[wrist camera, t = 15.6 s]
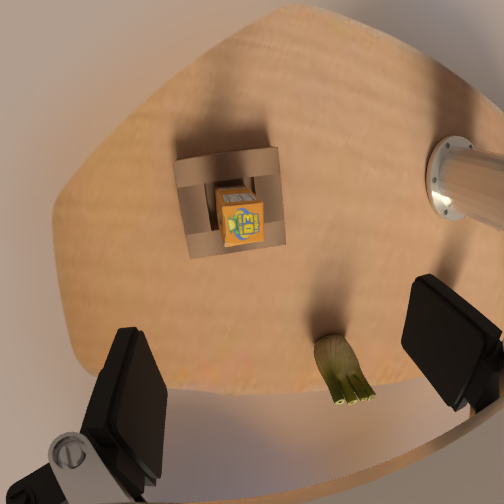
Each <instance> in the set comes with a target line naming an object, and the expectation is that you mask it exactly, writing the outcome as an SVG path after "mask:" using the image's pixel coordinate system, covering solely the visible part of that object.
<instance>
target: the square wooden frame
mask: <svg viewBox="0 0 504 504" xmlns="http://www.w3.org/2000/svg"><path fill="white" fill-rule="evenodd" d="M173 166H174V172H175V178H176V185H177V191H178V197H179V202H180V208H181V214H182V219H183V225H184V230H185V235H186V240H187V245H188V250H189V255H190V259H194V258H201V257H207V256H214V255H220V254H227V253H233V252H240V251H246V250H253V249H259V248H266V247H272V246H279V245H286V235H285V222H284V210H283V198H282V186H281V175H280V164H279V154H278V147H271V146H270V147H260V148H251V149H242V150H234V151H227V152H219V153H212V154H206V155H199V156H193V157H187V158H181V159H177V160H175V161H173ZM227 185H245V186H246V187H247V188H248V189H249V190H251V191H252V192H253V193H254V194H255V195H256V196H257V197H258V198H259V199H260V200H261V201H262V202H263V210H264V241H261V242H252V243H246V244H241V245H236V246H230V247H225V246H224V244H223V241H222V237H221V233H220V229H219V224H218V219H217V212H216V199H215V187H216V186H227Z"/></svg>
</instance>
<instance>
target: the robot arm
mask: <svg viewBox="0 0 504 504" xmlns="http://www.w3.org/2000/svg"><path fill="white" fill-rule="evenodd" d="M426 184H427V192H428V197H429V200H430V202H431V205H432V207H433V208H434V210H435V211H436V212H437V213H438V214H439V215H440V216H441V217H443V218H445V219H448V220H452V221H456V220H460V219H462V218H464V217H465V216H467V217H469V218H472V219H474V220H476V221H478V222H480V223H483V224H485V225H487V226H489V227H491V228H493V229H495V230H497V231H499V232H501V233H503V234H504V155H502V154H497V153H492V152H487V151H482V150H477V149H476V148H475V147H474V145H473V144H472V143H471V142H470V141H469V140H468V139H466V138H464V137H461V136H455V135H452V136H447V137H446V138H444V139H442V140H441V141H440V142H439V143H438V144H437V145H436V147H435V148H434V150H433V152H432V154H431V156H430V159H429V163H428V168H427V177H426ZM501 334H502V331H501V330H500V329H499V328H498V327H497V326H496V325H494V324H493V323H492V322H491V321H490V320H489V319H487V318H486V317H485V316H484V315H483V314H482V313H480V312H479V311H478V310H477V309H476V308H474V307H473V306H472V305H471V304H469V303H468V302H467V301H466V300H464V299H463V298H462V297H461V296H459V295H458V294H457V293H456V292H454V291H453V290H452V289H451V288H449V287H448V286H447V285H445V284H444V283H443V282H441V281H440V280H439V279H437V278H436V277H435V276H434V275H432V274H426V275H422V276H418V277H417V278H416V279H415V281H414V282H413V284H412V287H411V293H410V299H409V305H408V310H407V315H406V320H405V325H404V329H403V334H402V338H401V344H402V347H403V349H404V350H405V351H406V352H407V354H408V355H409V356H410V357H411V359H412V360H413V361H414V362H415V364H416V365H417V366H418V368H419V369H420V370H421V371H422V373H423V374H424V375H425V377H426V378H427V379H428V380H429V382H430V383H431V384H432V386H433V387H434V388H435V390H436V391H437V392H438V394H439V395H440V396H441V398H442V399H443V400H444V402H445V403H446V404H447V405H448V406H451V407H452V408H453V410H454V411H455V412H457V411H458V410H460V409H462V408H463V407H465V406H466V405H467V403H469V404H470V405H471V406H470V417H469V419H468V420H466V421H465V422H463V423H461V424H460V425H458V426H456V427H455V428H453V429H451V430H450V431H448V432H446V433H444V434H443V435H441V436H439V437H437V438H435V439H433V440H431V441H429V442H427V443H425V444H424V445H422V446H420V447H417V448H415V449H414V450H411V451H409V452H407V453H405V454H403V455H400V456H398V457H396V458H393V459H391V460H389V461H386V462H384V463H381V464H379V465H376V466H373V467H371V468H368V469H365V470H363V471H360V472H357V473H354V474H351V475H348V476H345V477H341V478H338V479H335V480H332V481H328V482H325V483H321V484H317V485H313V486H309V487H305V488H301V489H297V490H292V491H287V492H282V493H277V494H271V495H265V496H258V497H251V498H245V499H244V498H243V499H235V500H223V501H212V502H193V503H150V502H149V501H148V500H147V499H146V498H145V497H144V495H143V493H144V486H156V478H158V479H159V478H161V473H162V456H163V442H164V429H165V417H166V406H167V396H168V394H167V388H166V385H165V383H164V381H163V378H162V376H161V374H160V372H159V369H158V367H157V365H156V362H155V360H154V357H153V355H152V352H151V350H150V348H149V345H148V342H147V340H146V337H145V335H144V333H143V331H138V329H137V328H136V327H127V328H119V329H118V331H117V333H116V336H115V338H114V341H113V343H112V346H111V349H110V351H109V354H108V356H107V359H106V362H105V364H104V367H103V369H102V370H101V371H100V373H99V375H98V378H97V381H96V384H95V387H94V390H93V392H92V395H91V398H90V401H89V404H88V407H87V410H86V414H85V417H84V420H83V423H82V427H81V430H80V433H77V432H67V433H64V434H61V435H60V436H58V437H57V438H56V439H55V440H54V441H53V442H52V443H51V445H50V448H49V450H48V459H49V463H47V464H46V465H44V466H42V467H41V468H39V469H38V470H36V471H34V472H33V473H31V474H30V475H28V476H26V477H24V478H23V479H21V480H19V481H17V482H16V483H14V484H13V485H12V486H11V487H10V488H9V490H8V492H7V495H6V504H504V338H503V341H502V342H501V341H500V340H499V339H500V336H501Z"/></svg>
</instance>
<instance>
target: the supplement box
mask: <svg viewBox="0 0 504 504" xmlns="http://www.w3.org/2000/svg"><path fill="white" fill-rule="evenodd" d="M215 199H216V212H217V219H218V224H219V229H220V233H221V237H222V241H223V244H224V246H225V247H230V246H236V245H241V244H246V243H252V242H261V241H264V210H263V202H262V201H261V200H260V199H259V198H258V197H257V196H256V195H255V194H254V193H253V192H252V191H251V190H249V189H248V188H247V187H246V186H245V185H227V186H216V187H215Z"/></svg>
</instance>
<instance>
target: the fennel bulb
mask: <svg viewBox="0 0 504 504" xmlns="http://www.w3.org/2000/svg"><path fill="white" fill-rule="evenodd" d="M314 357H315V361H316V364H317V367H318V369H319V372H320V373H321V375H322V377H323V379H324V380H325V382H326V384H327V386H328V388H329V391H330V393H331V396H332V398H333V401H334V403H335V404H338V405H340V404H343V402H344V398H345V400H346V402H347V404H349V405H352V404H354V403H356V401H357V397H358V398H359V399H360V401H365V400H366V399H367V400H372V399H373V398H375V396H376V393H375V392H374V391H373V390H372V388H371V386H370V385H369V383H368V382H367V380H366V378H365V377H364V375H363V373H362V371H361V369H360V365H359V362H358V359H357V357H356V355H355V353H354V351H353V349H352V348H351V346H350V345H349V343H348V342H347V340H346V339H345V338H344V337H342V336H340V335H328V336H325V337H323V338H321V339H320V340H319V341H317V343H316V344H315V346H314ZM354 392H355V393H354ZM355 394H356V395H357V397H356V395H355Z"/></svg>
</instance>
